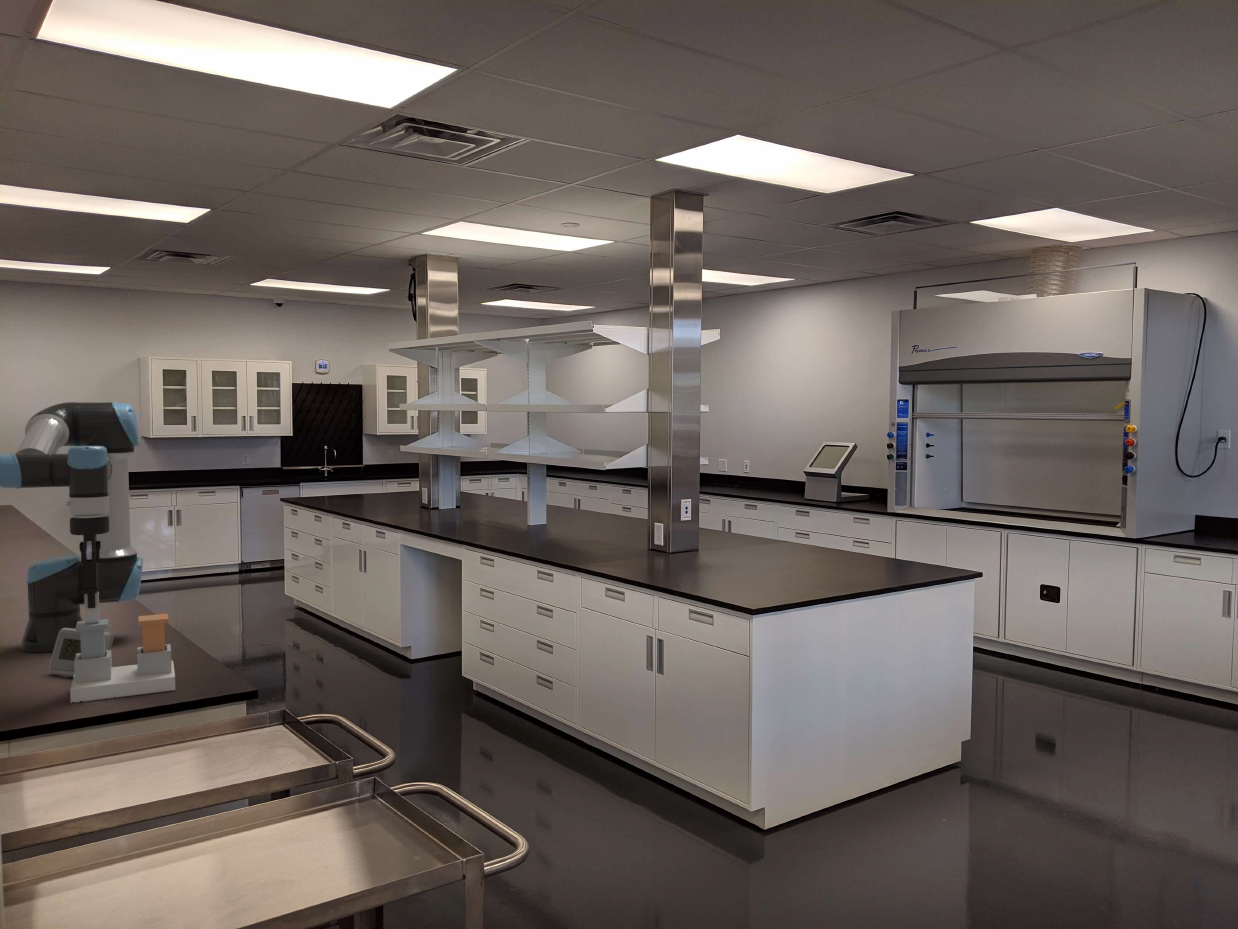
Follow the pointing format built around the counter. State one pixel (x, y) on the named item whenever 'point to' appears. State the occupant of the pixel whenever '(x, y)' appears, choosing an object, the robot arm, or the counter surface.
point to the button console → (122, 676)
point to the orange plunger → (153, 632)
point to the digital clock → (70, 651)
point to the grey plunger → (92, 638)
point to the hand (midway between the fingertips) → (92, 621)
